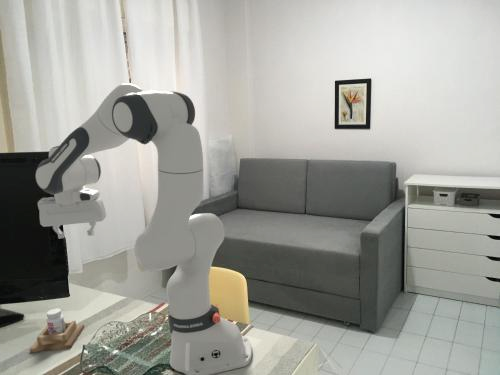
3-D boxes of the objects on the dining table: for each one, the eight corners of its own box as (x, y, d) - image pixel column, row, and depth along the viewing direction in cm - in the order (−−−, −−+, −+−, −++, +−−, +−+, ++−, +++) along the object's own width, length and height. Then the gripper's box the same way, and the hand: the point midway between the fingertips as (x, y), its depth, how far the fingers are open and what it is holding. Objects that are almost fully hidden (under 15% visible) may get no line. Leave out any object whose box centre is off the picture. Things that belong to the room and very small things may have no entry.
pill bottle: (48, 341, 127) (43, 316, 125) (52, 333, 132) (47, 309, 130) (64, 338, 128) (60, 313, 126) (68, 331, 133) (63, 306, 131)
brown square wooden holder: (84, 327, 136) (82, 317, 136) (71, 347, 124) (69, 337, 124) (47, 331, 136) (45, 321, 135) (30, 352, 124) (28, 341, 123)
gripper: (32, 200, 130) (40, 242, 133) (98, 194, 131) (104, 236, 134) (40, 196, 137) (48, 236, 139) (104, 190, 138) (110, 230, 140)
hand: (76, 236), depth 137 cm, fingers open, 8 cm apart
